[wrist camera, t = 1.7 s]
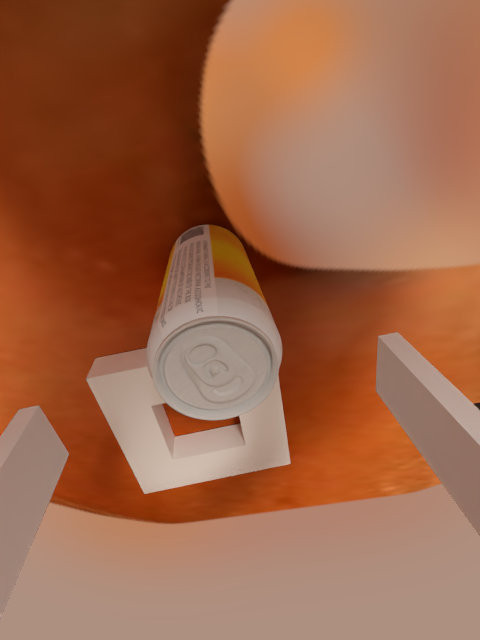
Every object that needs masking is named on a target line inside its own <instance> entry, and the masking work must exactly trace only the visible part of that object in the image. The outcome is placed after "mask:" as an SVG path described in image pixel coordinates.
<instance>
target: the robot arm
mask: <svg viewBox="0 0 480 640" xmlns="http://www.w3.org/2000/svg"><path fill="white" fill-rule="evenodd" d="M376 392H377V393H378V394H379V396H380V397H381V399H382V400H383V401H384V403H385V404H386V406H387V407H388V408H389V410H390V411H391V413H392V414H393V415H394V417H395V418H396V420H397V421H398V422H399V424H400V425H401V427H402V428H403V429H404V431H405V432H406V434H407V435H408V436H409V438H410V439H411V441H412V442H413V443H414V445H415V446H416V448H417V449H418V450H419V452H420V453H421V455H422V456H423V457H424V459H425V460H426V462H427V463H428V464H429V466H430V467H431V468H432V470H433V471H434V473H435V474H436V475H437V477H438V478H439V480H440V481H441V482H442V484H443V485H444V487H445V488H446V489H447V491H448V492H449V494H450V495H451V496H452V498H453V499H454V501H455V502H456V503H457V505H458V506H459V508H460V509H461V510H462V512H463V513H464V514H465V516H466V517H467V519H468V520H469V522H470V523H471V524H472V526H473V527H474V528H475V530H476V531H477V533H478V534H479V535H480V403H475V404H473V403H472V402H471V401H469V400H468V399H467V398H466V397H465V396H464V395H463V394H462V393H461V392H460V391H459V390H458V389H457V388H456V387H455V386H454V385H453V384H452V383H451V382H449V381H448V380H447V379H446V378H445V377H444V376H443V375H442V374H441V373H440V372H439V371H438V370H437V369H436V368H435V367H434V366H433V365H432V364H431V363H429V362H428V361H427V360H426V359H425V358H424V357H423V356H422V355H421V354H420V353H419V352H418V351H417V350H416V349H415V348H414V347H413V346H412V345H411V344H409V343H408V342H407V341H406V340H405V339H404V338H403V337H402V336H401V335H400V334H399V333H398V332H396V333H391V334H386V335H381V336H378V351H377V374H376ZM68 456H69V453H68V451H67V450H66V448H65V446H64V445H63V443H62V442H61V440H60V438H59V437H58V435H57V433H56V432H55V430H54V429H53V427H52V425H51V424H50V422H49V421H48V419H47V417H46V416H45V414H44V413H43V411H42V409H41V408H40V406H39V405H38V406H33V407H28V408H23V409H19V410H18V411H17V413H16V414H15V416H14V417H13V419H12V420H11V422H10V423H9V425H8V426H7V428H6V429H5V431H4V432H3V434H2V435H1V437H0V619H1V616H2V614H3V612H4V609H5V607H6V605H7V602H8V600H9V597H10V595H11V592H12V590H13V588H14V585H15V583H16V580H17V578H18V576H19V573H20V571H21V569H22V566H23V564H24V561H25V559H26V557H27V554H28V552H29V550H30V547H31V545H32V542H33V540H34V537H35V535H36V533H37V530H38V528H39V525H40V523H41V521H42V518H43V516H44V513H45V511H46V508H47V506H48V504H49V502H50V499H51V497H52V494H53V492H54V490H55V487H56V485H57V482H58V480H59V478H60V475H61V473H62V470H63V468H64V466H65V463H66V461H67V458H68Z"/></svg>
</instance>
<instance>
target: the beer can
mask: <svg viewBox="0 0 480 640" xmlns="http://www.w3.org/2000/svg"><path fill="white" fill-rule="evenodd" d="M146 361H147V366H148V370H149V373H150V375H151V377H152V379H153V381H154V385H155V387H156V390H157V392H158V393H159V395H160V396H161V398H162V399H163V400H164V401H165V402H166V403H167V404H168V405H169V406H170V407H171V408H173V409H174V410H176V411H177V412H179V413H181V414H183V415H186V416H189V417H192V418H196V419H201V420H224V419H230V418H234V417H237V416H240V415H243V414H245V413H247V412H249V411H251V410H252V409H254V408H255V407H257V406H258V405H259V404H261V403H262V402H263V401H264V400H265V399H266V398H267V397H268V395H269V394H270V393H271V391H272V390H273V388H274V386H275V384H276V381H277V378H278V372H279V367H280V364H281V361H282V341H281V338H280V334H279V332H278V330H277V327H276V325H275V322H274V320H273V317H272V315H271V313H270V310H269V308H268V305H267V303H266V300H265V298H264V296H263V293H262V291H261V288H260V286H259V283H258V281H257V279H256V276H255V274H254V271H253V269H252V266H251V264H250V262H249V259H248V257H247V254H246V252H245V249H244V247H243V245H242V243H241V242H240V240H239V239H238V238H237V237H236V236H235V235H234V234H233V233H232V232H230V231H229V230H227V229H225V228H223V227H220V226H216V225H199V226H196V227H193V228H191V229H189V230H187V231H186V232H184V233H183V234H182V235H181V236H180V237H179V238H178V239H177V240H176V242H175V243H174V245H173V247H172V250H171V253H170V257H169V261H168V265H167V269H166V273H165V277H164V281H163V285H162V289H161V293H160V297H159V300H158V304H157V308H156V312H155V316H154V320H153V324H152V328H151V332H150V336H149V340H148V344H147V349H146Z"/></svg>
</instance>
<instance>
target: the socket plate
mask: <svg viewBox="0 0 480 640" xmlns="http://www.w3.org/2000/svg"><path fill="white" fill-rule="evenodd" d="M146 349H147V348H144V349H139V350H134V351H129V352H124V353H119V354H114V355H109V356H104V357H99V358H95V360H94V363H93V365H92V367H91V369H90V371H89V373H88V375H87V377H86V380H87V382H88V384H89V386H90V388H91V390H92V392H93V394H94V396H95V398H96V400H97V402H98V404H99V406H100V408H101V410H102V412H103V414H104V416H105V418H106V420H107V422H108V424H109V426H110V428H111V430H112V431H113V433H114V435H115V437H116V439H117V441H118V443H119V445H120V447H121V449H122V451H123V453H124V455H125V457H126V459H127V461H128V463H129V465H130V467H131V469H132V471H133V473H134V475H135V477H136V479H137V480H138V482H139V484H140V486H141V488H142V490H143V492H144V494H147V493H151V492H156V491H161V490H166V489H171V488H176V487H181V486H185V485H190V484H195V483H200V482H205V481H210V480H215V479H219V478H224V477H229V476H234V475H239V474H244V473H249V472H253V471H258V470H263V469H268V468H273V467H278V466H283V465H287V464H291V463H290V456H289V449H288V441H287V434H286V427H285V420H284V413H283V405H282V398H281V391H280V384H279V376H278V378H277V381H276V384H275V386H274V388H273V390H272V391H271V393H270V394H269V395H268V397H267V398H266V399H265V400H264V401H263V402H262V403H261V404H259V405H258V406H257V407H255V408H254V409H252V410H251V411H249V412H247V413H245V414H243V415H240V416H239V418H240V422H241V423H240V424H235V425H230V426H226V427H221V428H216V429H211V430H206V431H201V432H196V433H191V434H186V435H181V436H177V437H175V436H174V433H173V431H172V428H171V425H170V423H169V420H168V417H167V415H166V412H165V410H164V407H163V403H166V402H165V401H164V400H163V399H162V398H161V396H160V395H159V393H158V392H157V390H156V387H155V385H154V381H153V379H152V377H151V375H150V373H149V370H148V366H147V361H146Z"/></svg>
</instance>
